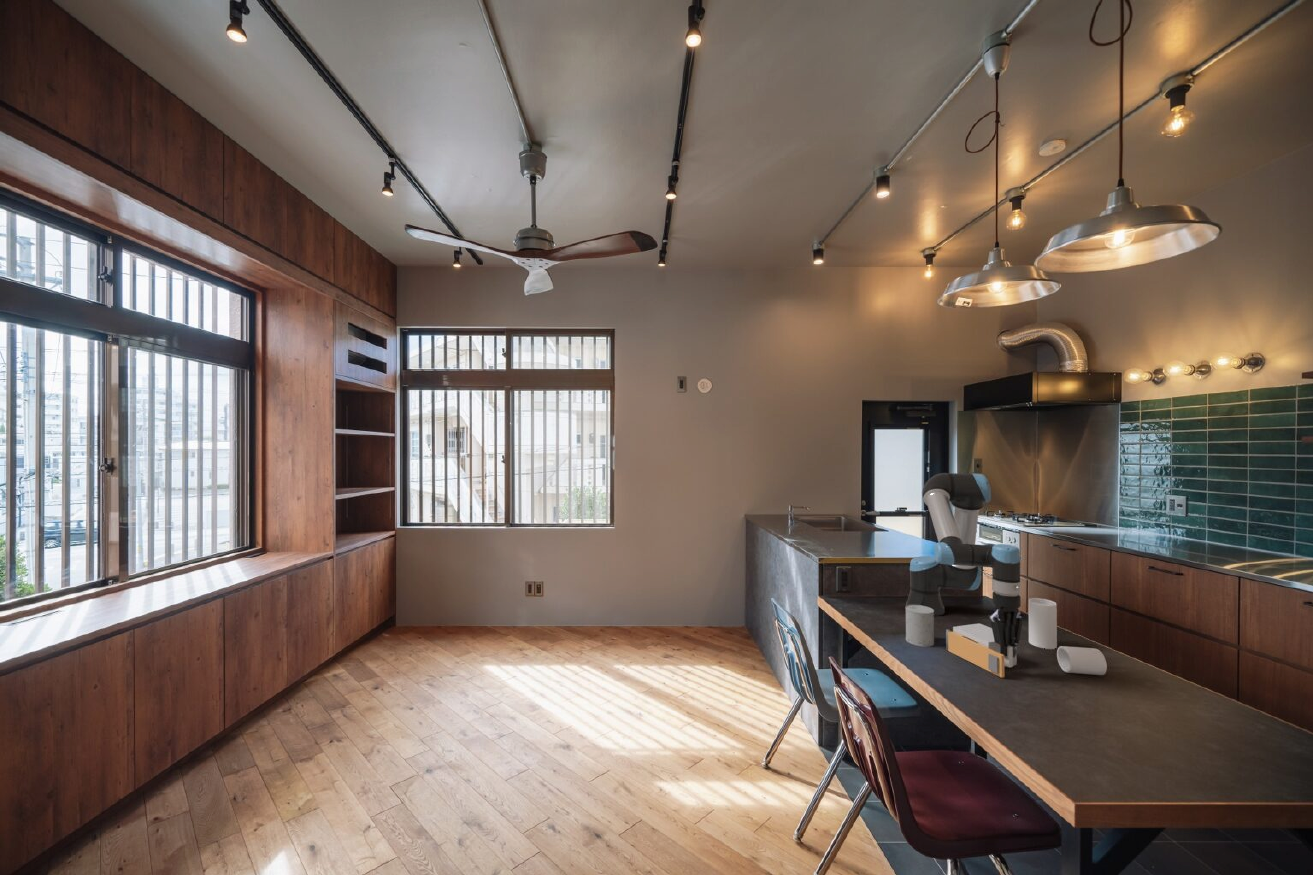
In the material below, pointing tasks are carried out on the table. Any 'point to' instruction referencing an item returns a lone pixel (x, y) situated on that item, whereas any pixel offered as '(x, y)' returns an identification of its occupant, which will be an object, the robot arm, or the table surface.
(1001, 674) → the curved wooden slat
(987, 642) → the knobbed white cabinet
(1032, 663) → the table surface
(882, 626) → the table surface
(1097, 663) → the mug
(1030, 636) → the cup
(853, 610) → the table surface
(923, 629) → the grey mottled cylinder
